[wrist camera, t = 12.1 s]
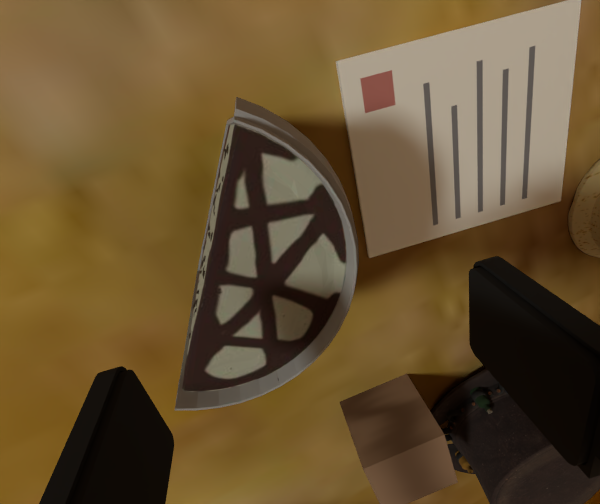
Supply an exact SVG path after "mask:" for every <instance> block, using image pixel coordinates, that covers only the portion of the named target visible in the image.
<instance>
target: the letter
mask: <svg viewBox="0 0 600 504" xmlns="http://www.w3.org/2000/svg"><path fill="white" fill-rule="evenodd" d="M580 8H581V0H567V1H564V2H560V3H556V4H552V5H548V6H545V7H541V8H537V9H533V10H529V11H526V12H522V13H518V14H514V15H510V16H507V17H503V18H499V19H495V20H491V21H488V22H484V23H480V24H476V25H472V26H469V27H465V28H461V29H457V30H453V31H450V32H446V33H442V34H438V35H434V36H431V37H427V38H423V39H419V40H415V41H412V42H408V43H404V44H400V45H396V46H393V47H389V48H385V49H381V50H377V51H373V52H370V53H366V54H362V55H358V56H354V57H351V58H347V59H343V60H339V61H336V66H337V72H338V78H339V84H340V90H341V96H342V102H343V108H344V114H345V120H346V126H347V132H348V138H349V144H350V150H351V157H352V163H353V169H354V175H355V181H356V187H357V193H358V199H359V205H360V211H361V217H362V223H363V229H364V235H365V241H366V247H367V253H368V257H369V258H372V257H375V256H379V255H382V254H385V253H389V252H392V251H395V250H399V249H402V248H405V247H409V246H412V245H415V244H419V243H422V242H425V241H429V240H432V239H436V238H439V237H442V236H446V235H449V234H452V233H456V232H459V231H462V230H466V229H469V228H472V227H476V226H479V225H482V224H486V223H489V222H493V221H496V220H499V219H503V218H506V217H509V216H513V215H516V214H519V213H523V212H526V211H529V210H533V209H536V208H539V207H543V206H546V205H550V204H553V203H556V202H560V201H561V196H562V186H563V176H564V166H565V156H566V147H567V137H568V127H569V117H570V107H571V97H572V87H573V77H574V67H575V58H576V48H577V38H578V28H579V18H580Z"/></svg>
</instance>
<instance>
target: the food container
mask: <svg viewBox="0 0 600 504" xmlns="http://www.w3.org/2000/svg"><path fill="white" fill-rule="evenodd" d="M358 264H359V254H358V238H357V233H356V228H355V224H354V219H353V215H352V212H351V208H350V205H349V201H348V199H347V196H346V194H345V192H344V189H343V187H342V184H341V182H340V180H339V178H338V176H337V175H336V173H335V172H334V170H333V168H332V167H331V165H330V164H329V162H328V160H327V159H326V158H325V157H324V155H323V154H322V153H321V152H320V151H319V150H318V149H317V148H316V146H315V145H314V144H313V143H312V142H311V141H310V140H309V139H308V138H307V137H306V136H305V135H303V134H302V133H301V132H300V131H299V130H297V129H296V128H295V127H294V126H292V125H291V124H290V123H289V122H288V121H286V120H284V119H282V118H281V117H279V116H277V115H275V114H274V113H272V112H270V111H269V110H267V109H265V108H263V107H261V106H259V105H256V104H254V103H251V102H248V101H246V100H243V99H241V98H238V97H236V103H235V113H234V117H232V118H230V119H229V120H227V124H226V129H225V134H224V139H223V144H222V149H221V155H220V160H219V165H218V170H217V175H216V180H215V185H214V190H213V195H212V200H211V205H210V210H209V215H208V220H207V225H206V230H205V235H204V240H203V245H202V251H201V256H200V261H199V266H198V271H197V277H196V283H195V289H194V295H193V301H192V307H191V313H190V320H189V326H188V332H187V338H186V344H185V350H184V356H183V363H182V369H181V375H180V380H179V385H178V391H177V398H176V406H175V410H203V409H212V408H220V407H225V406H229V405H234V404H238V403H242V402H245V401H248V400H251V399H253V398H256V397H259V396H262V395H264V394H266V393H268V392H270V391H272V390H274V389H276V388H278V387H280V386H282V385H284V384H285V383H287V382H288V381H290V380H291V379H293V378H294V377H296V376H298V375H299V374H300V373H301V372H302V371H304V370H305V369H306V368H307V367H308V366H310V365H311V364H312V363H313V362H314V361H315V360H316V359H317V358H318V357H319V356H320V355H321V354H322V352H323V351H324V350H325V349H326V348H327V347H328V346H329V344H330V343H331V341H332V340H333V338H334V337H335V335H336V334H337V332H338V331H339V329H340V327H341V325H342V323H343V321H344V319H345V317H346V315H347V313H348V311H349V307H350V304H351V300H352V297H353V294H354V289H355V285H356V280H357V272H358Z"/></svg>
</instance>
